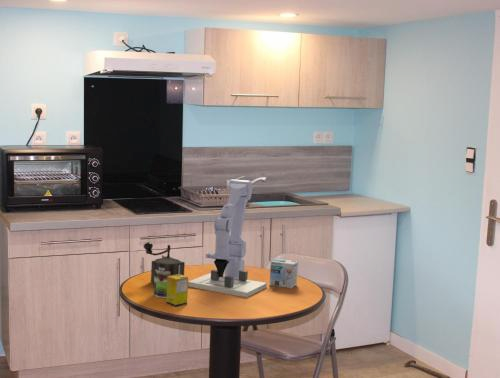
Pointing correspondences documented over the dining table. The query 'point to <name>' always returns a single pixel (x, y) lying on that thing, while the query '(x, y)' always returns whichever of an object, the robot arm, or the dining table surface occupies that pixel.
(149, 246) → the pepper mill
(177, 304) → the supplement box
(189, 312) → the dining table surface
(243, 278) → the handle
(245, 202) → the robot arm
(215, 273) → the dark gray block
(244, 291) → the breaker board
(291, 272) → the light bulb box
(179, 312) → the dining table surface
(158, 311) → the dining table surface
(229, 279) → the handle
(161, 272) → the coffee can
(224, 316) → the dining table surface
